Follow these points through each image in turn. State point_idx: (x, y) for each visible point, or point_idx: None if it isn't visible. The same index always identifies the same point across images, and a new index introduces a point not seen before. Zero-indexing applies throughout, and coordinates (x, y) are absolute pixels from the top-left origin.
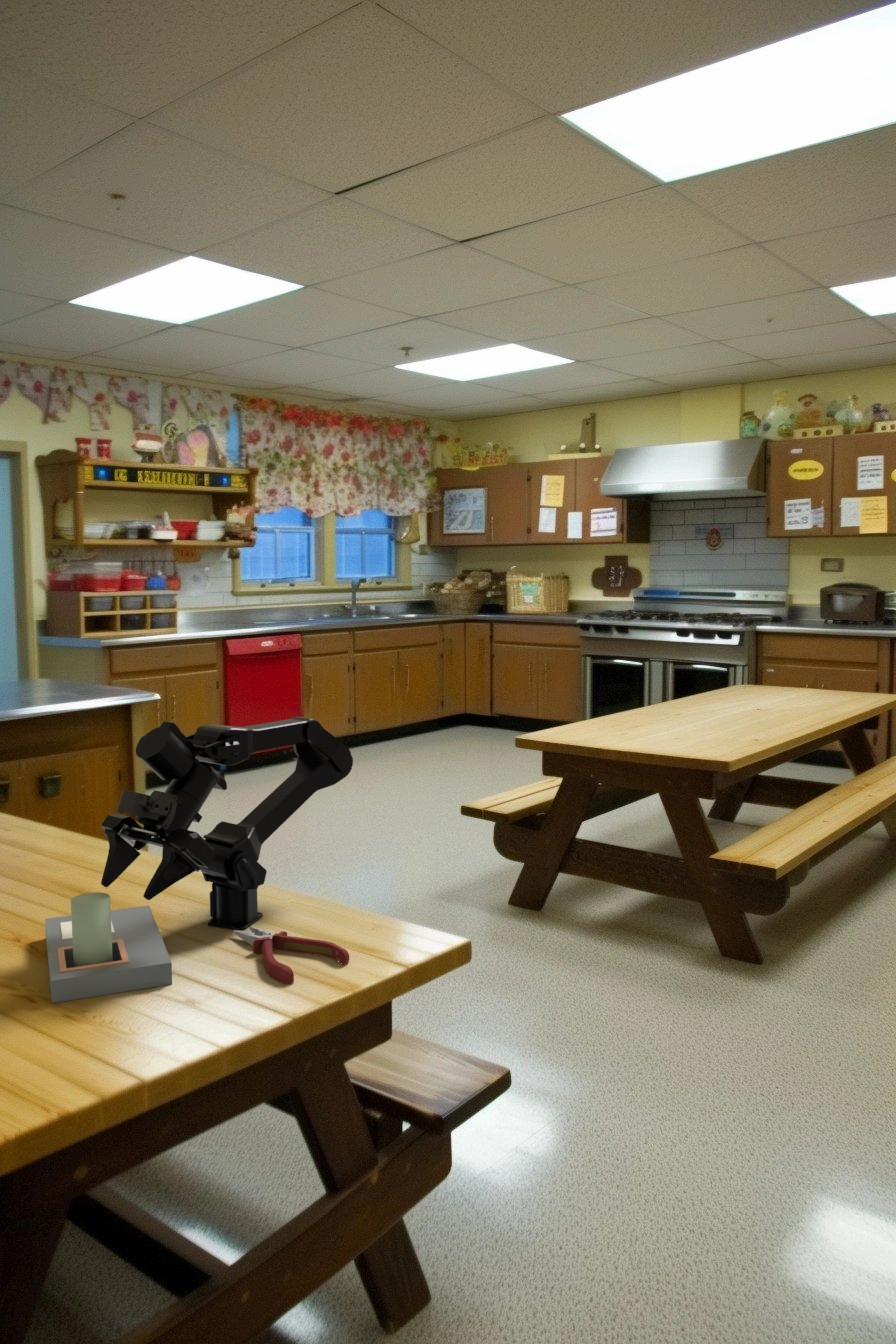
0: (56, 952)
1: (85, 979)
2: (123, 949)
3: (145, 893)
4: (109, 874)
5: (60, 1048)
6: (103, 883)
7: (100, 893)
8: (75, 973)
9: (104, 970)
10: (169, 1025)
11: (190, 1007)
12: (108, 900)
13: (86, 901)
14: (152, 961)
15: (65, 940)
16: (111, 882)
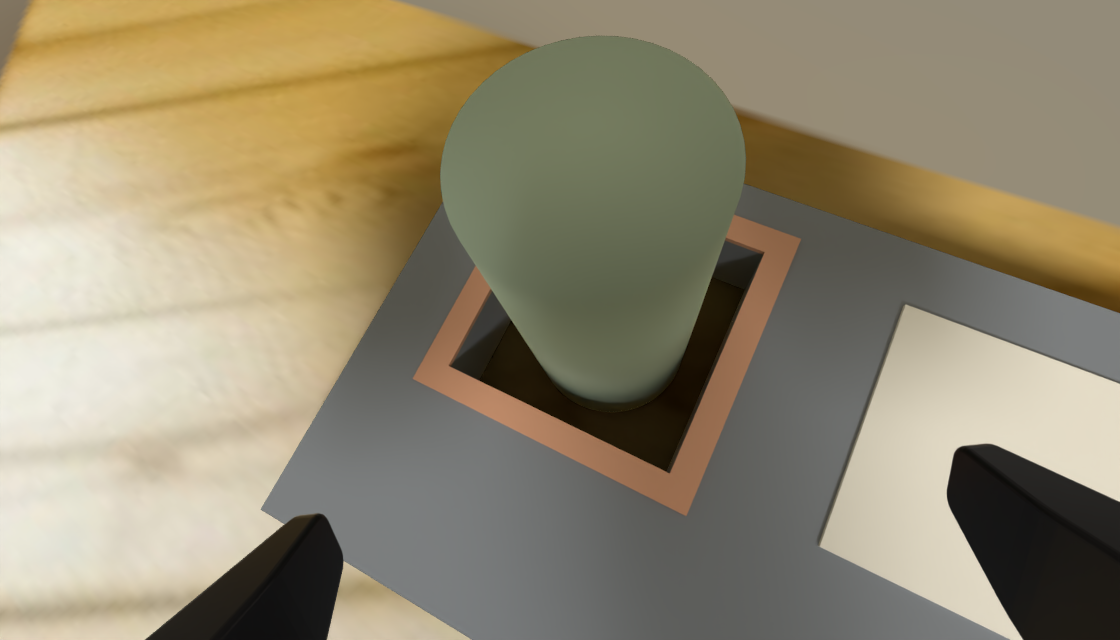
0: (763, 222)
1: None
2: (553, 438)
3: (289, 528)
4: (1043, 548)
5: (261, 67)
6: (962, 458)
7: (648, 268)
8: None
9: (426, 268)
10: (105, 317)
11: (128, 434)
12: (465, 248)
13: (551, 112)
14: (340, 456)
15: (886, 312)
16: (986, 566)
